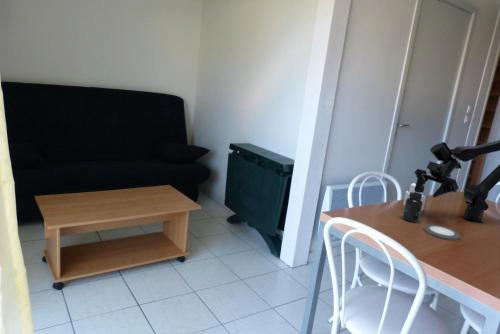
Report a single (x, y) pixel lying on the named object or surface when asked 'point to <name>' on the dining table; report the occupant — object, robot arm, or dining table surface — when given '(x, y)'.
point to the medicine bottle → (416, 192)
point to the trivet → (441, 232)
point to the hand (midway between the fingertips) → (423, 193)
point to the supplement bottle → (413, 207)
